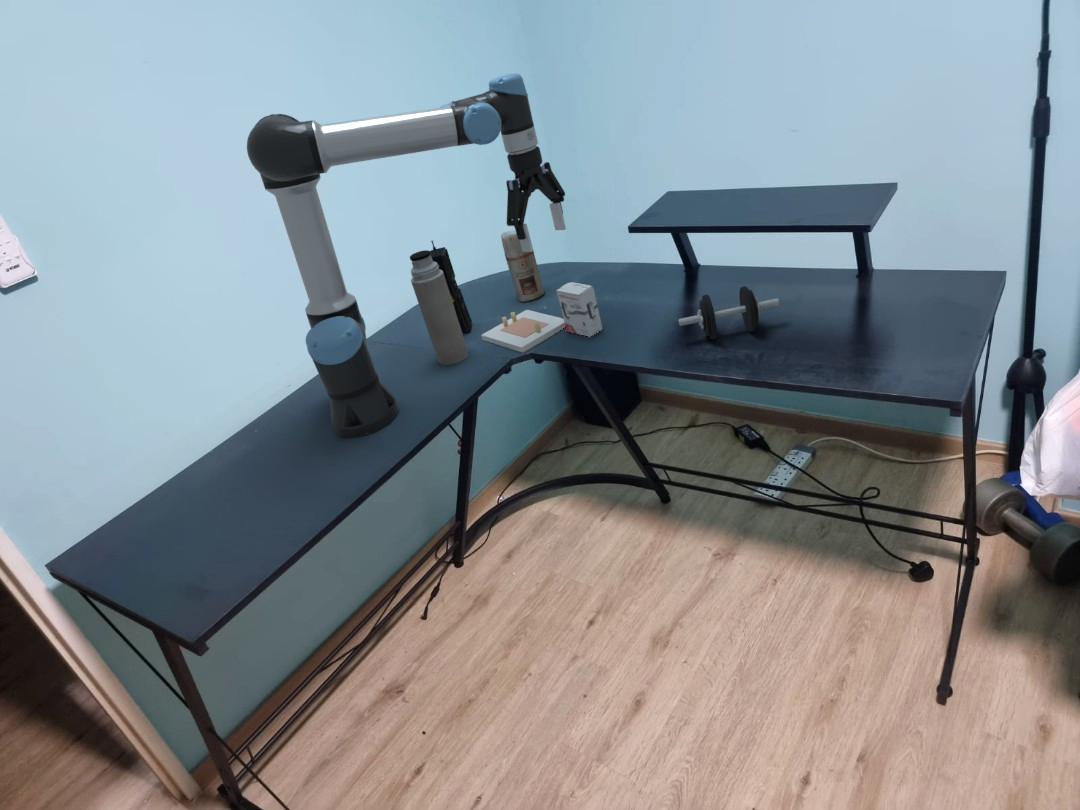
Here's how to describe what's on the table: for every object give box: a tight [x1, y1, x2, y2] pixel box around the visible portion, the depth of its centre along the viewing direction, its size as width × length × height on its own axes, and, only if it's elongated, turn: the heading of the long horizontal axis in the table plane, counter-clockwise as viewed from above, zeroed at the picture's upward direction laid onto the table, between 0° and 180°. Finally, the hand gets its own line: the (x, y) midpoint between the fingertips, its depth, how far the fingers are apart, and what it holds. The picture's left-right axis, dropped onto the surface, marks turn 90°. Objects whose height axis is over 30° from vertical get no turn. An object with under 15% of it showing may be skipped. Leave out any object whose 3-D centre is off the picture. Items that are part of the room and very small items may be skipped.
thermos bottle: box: [409, 249, 469, 366], centre depth 174 cm, size 8×8×28 cm
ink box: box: [556, 281, 603, 338], centre depth 173 cm, size 9×5×12 cm, turn 42°
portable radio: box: [429, 240, 473, 335], centre depth 188 cm, size 8×6×25 cm
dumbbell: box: [677, 285, 780, 340], centre depth 155 cm, size 22×10×10 cm, turn 89°
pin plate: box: [481, 309, 566, 354], centre depth 182 cm, size 16×17×4 cm
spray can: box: [500, 229, 545, 302], centre depth 200 cm, size 8×8×20 cm
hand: (544, 240), depth 169 cm, fingers open, 13 cm apart
